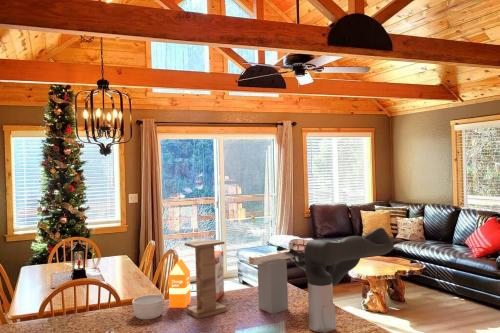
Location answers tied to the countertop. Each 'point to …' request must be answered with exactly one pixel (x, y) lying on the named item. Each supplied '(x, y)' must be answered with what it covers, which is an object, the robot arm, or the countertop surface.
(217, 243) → the wooden pedestal
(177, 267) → the orange juice
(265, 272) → the plinth
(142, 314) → the ramekin
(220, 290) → the cracker box
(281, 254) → the bar
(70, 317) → the countertop surface
